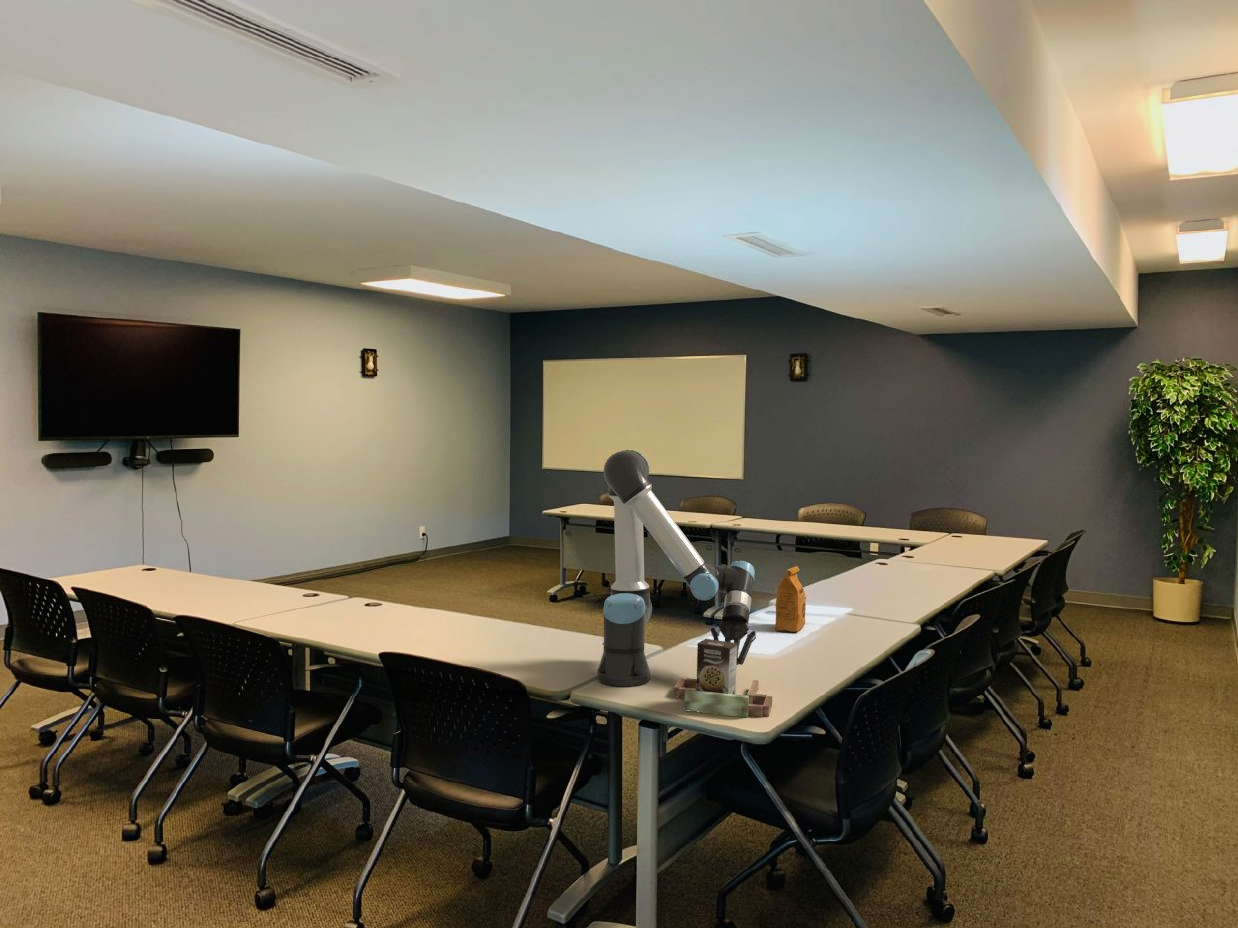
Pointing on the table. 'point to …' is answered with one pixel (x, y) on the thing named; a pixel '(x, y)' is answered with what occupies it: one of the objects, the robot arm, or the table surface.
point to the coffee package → (790, 603)
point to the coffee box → (716, 666)
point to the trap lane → (723, 700)
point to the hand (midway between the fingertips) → (725, 685)
